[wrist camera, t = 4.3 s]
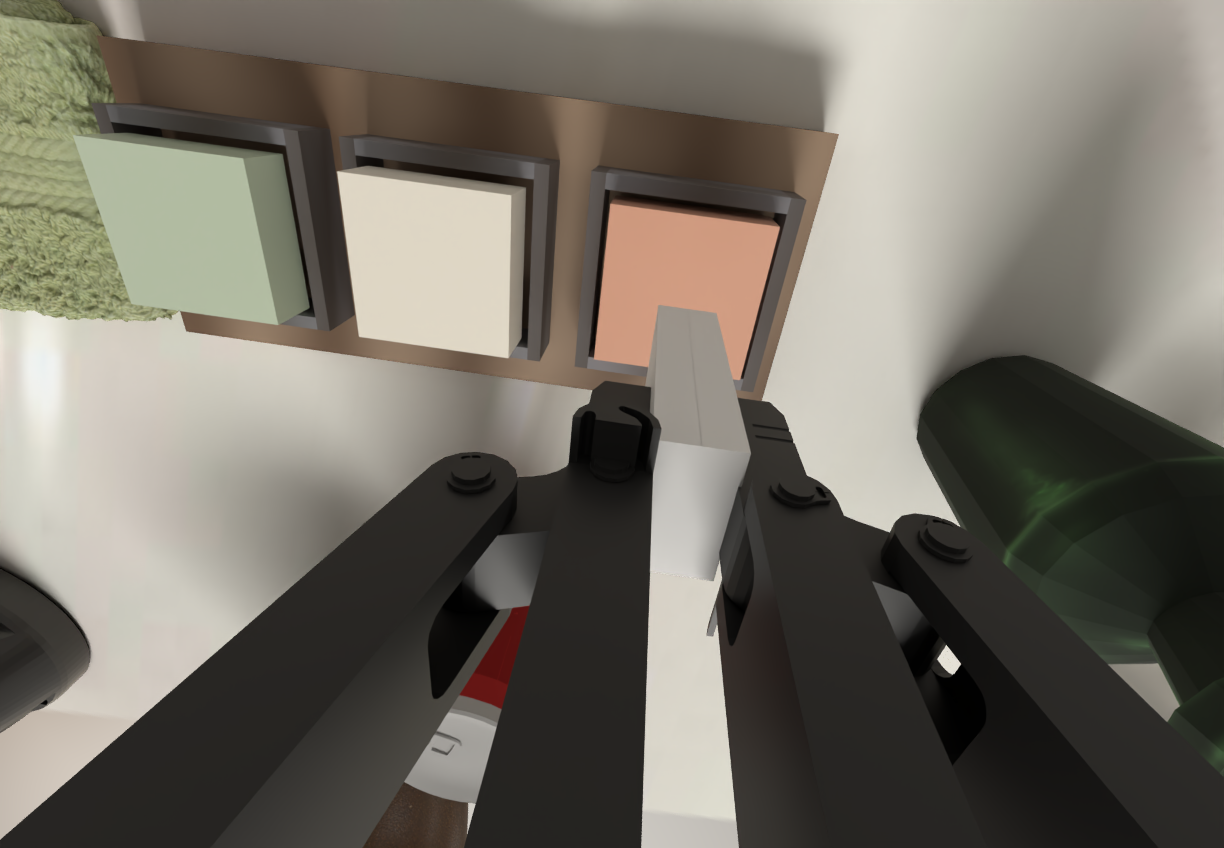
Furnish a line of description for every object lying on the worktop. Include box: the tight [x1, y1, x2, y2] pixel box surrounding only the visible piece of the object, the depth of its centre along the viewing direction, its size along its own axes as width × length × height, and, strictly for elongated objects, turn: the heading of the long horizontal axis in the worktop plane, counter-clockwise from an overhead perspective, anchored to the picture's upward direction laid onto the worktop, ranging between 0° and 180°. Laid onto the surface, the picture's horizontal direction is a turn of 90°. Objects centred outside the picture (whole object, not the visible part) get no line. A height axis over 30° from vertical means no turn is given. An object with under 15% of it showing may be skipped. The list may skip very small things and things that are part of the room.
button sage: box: [73, 133, 310, 325], centre depth 19 cm, size 6×6×2 cm
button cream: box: [337, 166, 526, 358], centre depth 19 cm, size 6×6×2 cm
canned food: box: [404, 605, 530, 804], centre depth 29 cm, size 8×8×11 cm
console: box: [91, 35, 839, 401], centre depth 21 cm, size 26×11×4 cm, turn 84°
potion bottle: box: [917, 355, 1224, 777], centre depth 17 cm, size 8×8×18 cm
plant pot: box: [362, 782, 468, 848], centre depth 36 cm, size 15×15×16 cm
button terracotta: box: [594, 195, 780, 380], centre depth 20 cm, size 6×6×2 cm
